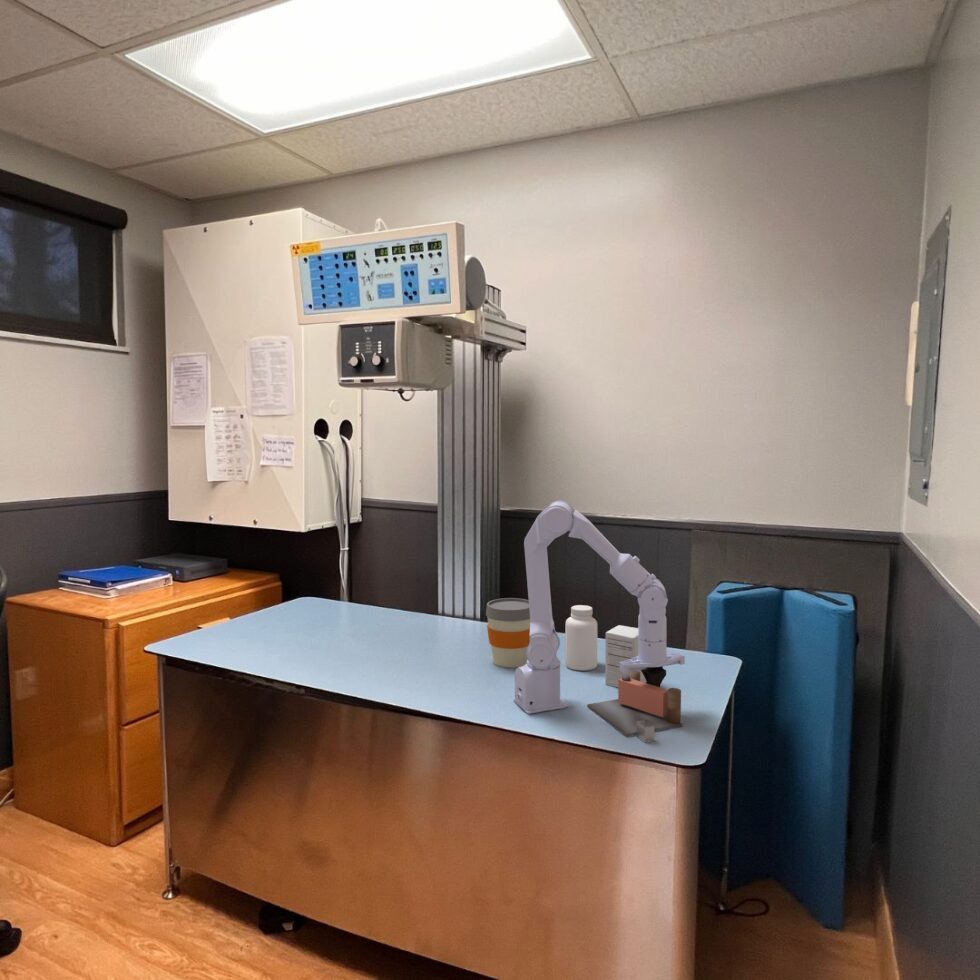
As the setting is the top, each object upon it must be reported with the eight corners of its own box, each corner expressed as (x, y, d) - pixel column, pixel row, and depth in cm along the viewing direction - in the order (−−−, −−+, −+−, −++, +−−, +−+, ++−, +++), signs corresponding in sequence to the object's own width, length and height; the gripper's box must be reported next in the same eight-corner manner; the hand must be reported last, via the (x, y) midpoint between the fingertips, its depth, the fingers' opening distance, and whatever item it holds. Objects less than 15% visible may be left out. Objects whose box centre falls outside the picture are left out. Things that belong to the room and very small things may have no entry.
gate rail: (662, 717, 140) (663, 690, 139) (618, 702, 147) (618, 676, 147) (669, 713, 141) (669, 686, 141) (624, 699, 149) (625, 673, 148)
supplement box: (618, 675, 167) (618, 624, 166) (646, 681, 162) (647, 629, 161) (604, 684, 161) (604, 631, 160) (633, 691, 156) (634, 637, 155)
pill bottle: (599, 662, 176) (599, 604, 175) (595, 672, 168) (595, 612, 167) (568, 659, 178) (568, 602, 177) (562, 670, 171) (563, 610, 169)
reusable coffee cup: (519, 673, 169) (519, 613, 167) (476, 664, 175) (476, 606, 174) (543, 658, 179) (543, 601, 178) (502, 650, 186) (502, 595, 185)
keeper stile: (645, 742, 131) (645, 727, 131) (636, 736, 134) (636, 721, 134) (654, 740, 132) (654, 725, 132) (645, 734, 135) (645, 719, 134)
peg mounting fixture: (626, 737, 134) (626, 702, 133) (585, 705, 149) (585, 673, 148) (683, 725, 138) (684, 692, 138) (637, 696, 154) (638, 665, 153)
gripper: (671, 628, 150) (671, 689, 152) (612, 637, 146) (612, 699, 147) (690, 637, 144) (690, 700, 145) (629, 646, 139) (630, 712, 140)
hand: (652, 701), depth 145 cm, fingers closed, pressing on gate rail
